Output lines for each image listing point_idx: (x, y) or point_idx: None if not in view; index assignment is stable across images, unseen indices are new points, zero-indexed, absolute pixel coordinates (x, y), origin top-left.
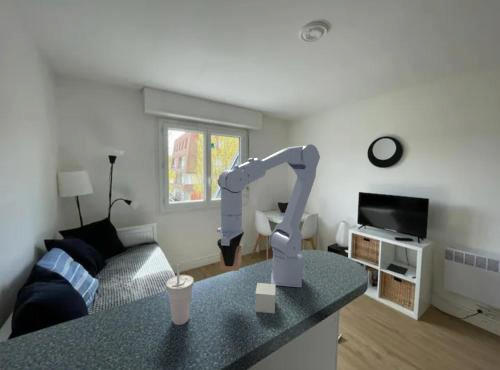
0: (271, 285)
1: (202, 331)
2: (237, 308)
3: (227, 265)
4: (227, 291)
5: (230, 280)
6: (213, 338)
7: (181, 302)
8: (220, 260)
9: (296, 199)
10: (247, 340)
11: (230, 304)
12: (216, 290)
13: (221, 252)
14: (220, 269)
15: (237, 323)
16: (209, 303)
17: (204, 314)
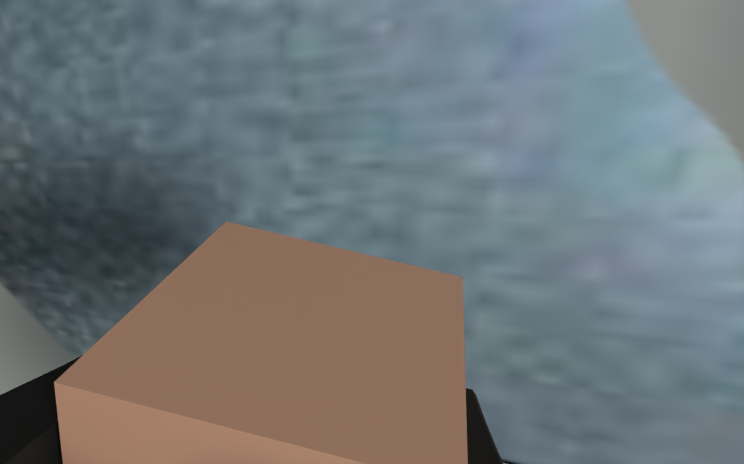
0: None
1: (33, 36)
2: None
3: None
4: (438, 179)
5: (606, 204)
6: (5, 108)
7: None
8: (164, 284)
9: None
10: (36, 269)
11: (284, 199)
12: (461, 88)
13: (68, 393)
14: (224, 224)
15: (129, 232)
16: (289, 47)
17: (171, 25)
